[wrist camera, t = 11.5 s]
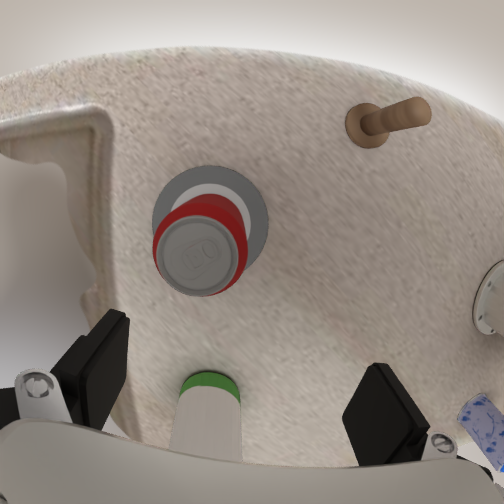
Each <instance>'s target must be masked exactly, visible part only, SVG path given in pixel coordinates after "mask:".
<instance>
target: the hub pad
mask: <svg viewBox="0 0 504 504" xmlns="http://www.w3.org/2000/svg"><path fill="white" fill-rule="evenodd" d="M202 194H218V195H221V196H224V197H226V198H228V199H229V200H231V201H232V202H233V203H234V204H235V205H236V206H237V208H238V209H239V211H240V213H241V215H242V218H243V221H244V226H245V230H246V236H247V243H248V258H247V263H246V266H245V268H244V270H245V269H246V268H248V267H249V266H250V265H251V264H252V263H253V262H254V261H255V260H256V258H257V257H258V256H259V254H260V252H261V251H262V249H263V247H264V244H265V242H266V238H267V233H268V214H267V210H266V206H265V203H264V201H263V199H262V197H261V195H260V193H259V192H258V190H257V189H256V188H255V186H254V185H253V184H252V183H251V182H250V181H249V180H248V179H246V178H245V177H244V176H242V175H241V174H239V173H237V172H235V171H233V170H230V169H228V168H224V167H219V166H201V167H196V168H192V169H189V170H187V171H185V172H183V173H181V174H179V175H178V176H176V177H175V178H174V179H172V180H171V181H170V182H169V183H168V184H167V185H166V187H165V188H164V189H163V190H162V192H161V194H160V195H159V197H158V199H157V201H156V204H155V207H154V211H153V219H152V227H153V234H154V235H155V232H156V230H157V228H158V226H159V224H160V223H161V221H162V220H163V219H164V218H165V217H166V216H167V215H168V214H169V213H170V212H171V211H173V210H174V209H176V208H177V207H179V206H180V205H182V204H183V203H185V202H187V201H188V200H190V199H192V198H194V197H196V196H199V195H202Z"/></svg>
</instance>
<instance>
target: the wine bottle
mask: <svg viewBox="0 0 504 504" xmlns="http://www.w3.org/2000/svg"><path fill="white" fill-rule="evenodd" d="M169 449H170V450H174V451H179V452H183V453H188V454H193V455H198V456H204V457H209V458H215V459H222V460H229V461H236V462H243V460H242V434H241V409H240V395H239V391H238V389H237V387H236V385H235V384H234V383H233V382H232V381H231V380H230V379H228V378H227V377H225V376H223V375H220V374H218V373H212V372H205V373H199V374H196V375H194V376H192V377H190V378H189V379H188V380H187V381H186V382H185V383H184V384H183V386H182V388H181V391H180V396H179V400H178V404H177V409H176V414H175V419H174V424H173V429H172V434H171V439H170V444H169Z"/></svg>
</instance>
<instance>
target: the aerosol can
mask: <svg viewBox="0 0 504 504" xmlns="http://www.w3.org/2000/svg"><path fill="white" fill-rule="evenodd" d="M457 420H458V422H459V423H461V424H462V426H463V427H464V428H465V429H466V431H467V432H468V433H469V435H470V436H471V437H472V439H473V440H474V441H475V442H476V444H477V445H478V446H479V448H480V449H481V450H482V452H483V453H484V455H485V456H486V457H487V459H488V460H489V461H490V463H491V464H492V465H493V467H494V468H495V469H496V471H498V472H504V415H503V414H502V413H501V412H500V411H499V410H498V409H497V408H496V407H495V406H494V405H493V403H492V402H491V401H490V400H489V399H488V398H487V396H486V395H485V394H484V393H480V394H478V395H476V396H474V397H473V398H471V399H470V400H469V401H468V402H467V403H466V404H465V405H464V406H463V408H462V409H461V411H460V412H459V415H458V418H457Z"/></svg>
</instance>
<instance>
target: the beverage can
mask: <svg viewBox="0 0 504 504" xmlns="http://www.w3.org/2000/svg"><path fill="white" fill-rule="evenodd" d="M153 257H154V261H155V264H156V267H157V269H158V271H159V273H160V275H161V276H162V277H163V279H164V280H165V281H166V282H167V283H168V284H169V285H170V286H171V287H172V288H174V289H175V290H177V291H179V292H181V293H183V294H186V295H190V296H198V297H199V296H200V297H203V296H211V295H215V294H218V293H221V292H223V291H225V290H226V289H228V288H229V287H231V286H232V285H233V284H234V283H235V282H236V281H237V280H238V279H239V277H240V276H241V274H242V273H243V271H244V268H245V266H246V263H247V258H248V243H247V236H246V230H245V226H244V221H243V218H242V215H241V213H240V211H239V209H238V208H237V206H236V205H235V204H234V203H233V202H232V201H231V200H229V199H228V198H226V197H224V196H221V195H218V194H202V195H199V196H196V197H194V198H192V199H190V200H188V201H187V202H185V203H183V204H182V205H180V206H179V207H177V208H176V209H174V210H173V211H171V212H170V213H169V214H168V215H167V216H166V217H165V218H164V219H163V220H162V221H161V223H160V224H159V226H158V228H157V230H156V232H155V235H154V239H153Z"/></svg>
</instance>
